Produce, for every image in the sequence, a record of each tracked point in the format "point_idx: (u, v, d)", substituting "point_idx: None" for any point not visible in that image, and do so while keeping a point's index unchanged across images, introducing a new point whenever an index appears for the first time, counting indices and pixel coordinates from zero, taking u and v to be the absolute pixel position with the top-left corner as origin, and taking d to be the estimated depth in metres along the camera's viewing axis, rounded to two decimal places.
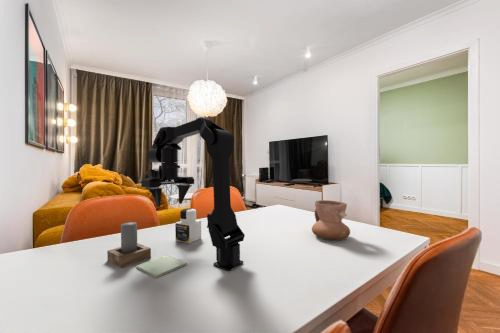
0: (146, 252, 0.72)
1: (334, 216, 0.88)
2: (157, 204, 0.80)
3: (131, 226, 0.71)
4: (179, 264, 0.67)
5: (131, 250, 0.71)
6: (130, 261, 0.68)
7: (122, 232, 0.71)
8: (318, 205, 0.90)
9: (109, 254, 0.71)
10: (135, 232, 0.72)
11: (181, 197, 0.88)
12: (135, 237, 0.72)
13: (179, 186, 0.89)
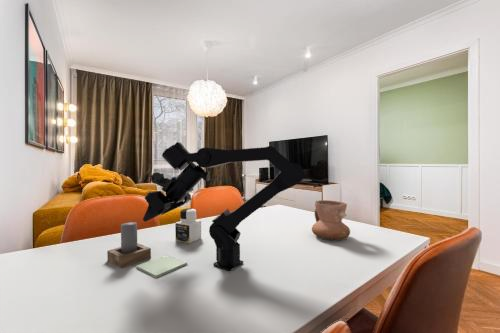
0: (146, 252, 0.72)
1: (334, 216, 0.88)
2: (146, 218, 0.66)
3: (131, 226, 0.71)
4: (179, 264, 0.67)
5: (131, 250, 0.71)
6: (130, 261, 0.68)
7: (122, 232, 0.71)
8: (318, 205, 0.90)
9: (109, 254, 0.71)
10: (135, 232, 0.72)
11: (167, 210, 0.76)
12: (135, 237, 0.72)
13: None
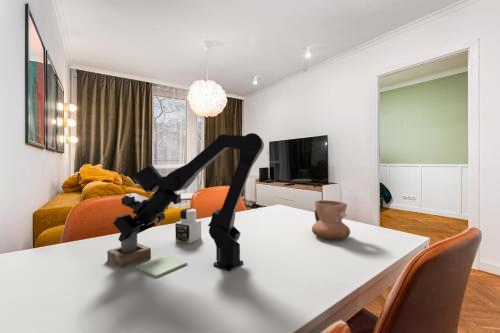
0: (146, 252, 0.72)
1: (334, 216, 0.88)
2: (121, 239, 0.70)
3: None
4: (179, 264, 0.67)
5: (131, 250, 0.71)
6: (130, 261, 0.68)
7: None
8: (318, 205, 0.90)
9: (109, 254, 0.71)
10: None
11: None
12: (135, 237, 0.72)
13: None
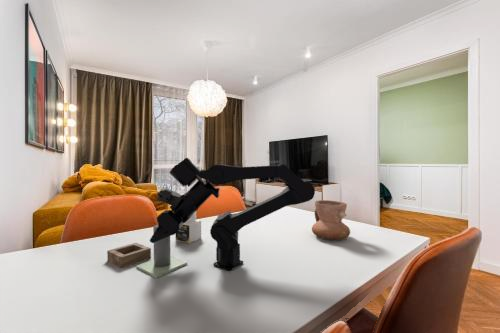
0: (146, 252, 0.72)
1: (334, 216, 0.88)
2: (153, 240, 0.62)
3: None
4: (179, 264, 0.67)
5: (166, 254, 0.66)
6: (130, 261, 0.68)
7: None
8: (318, 205, 0.90)
9: (109, 254, 0.71)
10: None
11: None
12: (169, 240, 0.67)
13: (174, 214, 0.72)
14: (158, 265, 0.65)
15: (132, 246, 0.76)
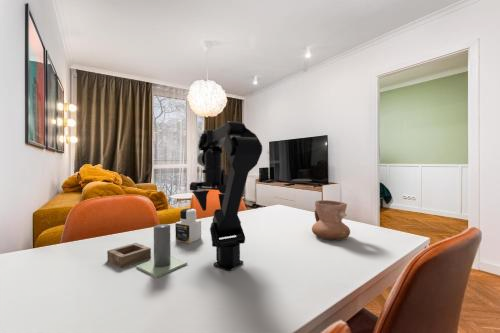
0: (146, 252, 0.72)
1: (334, 216, 0.88)
2: None
3: (166, 228, 0.66)
4: (179, 264, 0.67)
5: (167, 254, 0.66)
6: (130, 261, 0.68)
7: (157, 235, 0.65)
8: (318, 205, 0.90)
9: (109, 254, 0.71)
10: (169, 235, 0.67)
11: None
12: (169, 240, 0.67)
13: None
14: (158, 265, 0.65)
15: (132, 246, 0.76)
